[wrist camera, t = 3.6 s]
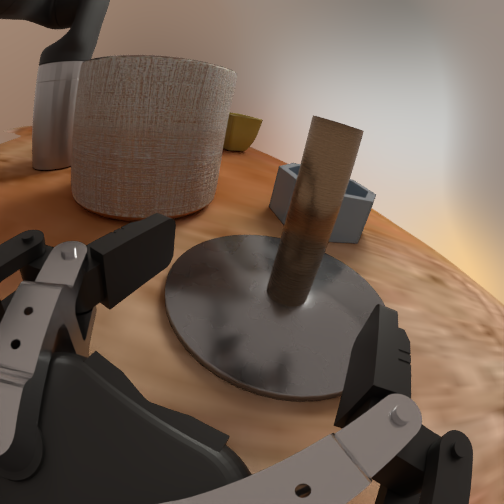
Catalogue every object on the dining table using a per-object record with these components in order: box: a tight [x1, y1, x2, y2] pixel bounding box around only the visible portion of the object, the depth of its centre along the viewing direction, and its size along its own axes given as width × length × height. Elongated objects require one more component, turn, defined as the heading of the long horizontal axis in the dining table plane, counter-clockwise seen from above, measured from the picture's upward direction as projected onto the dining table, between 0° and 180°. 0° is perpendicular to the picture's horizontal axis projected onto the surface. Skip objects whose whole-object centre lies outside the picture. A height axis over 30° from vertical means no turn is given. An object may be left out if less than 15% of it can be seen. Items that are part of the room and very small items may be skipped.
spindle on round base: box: [165, 116, 385, 402], centre depth 17 cm, size 17×17×13 cm
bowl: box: [269, 163, 376, 244], centre depth 35 cm, size 12×12×6 cm
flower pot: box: [223, 112, 263, 151], centre depth 64 cm, size 9×9×9 cm
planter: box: [71, 55, 237, 221], centre depth 28 cm, size 18×18×16 cm
